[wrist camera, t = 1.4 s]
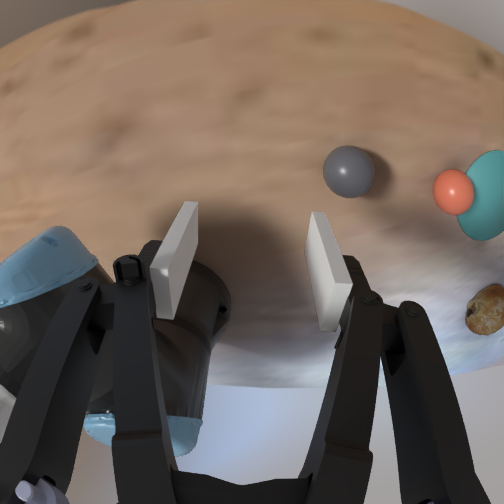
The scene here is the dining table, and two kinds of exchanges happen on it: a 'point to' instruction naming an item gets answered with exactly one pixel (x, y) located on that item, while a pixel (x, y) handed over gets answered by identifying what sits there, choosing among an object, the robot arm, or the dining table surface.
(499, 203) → the teal mark
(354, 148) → the gray ball
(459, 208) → the red ball
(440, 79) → the dining table surface
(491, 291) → the bread roll
